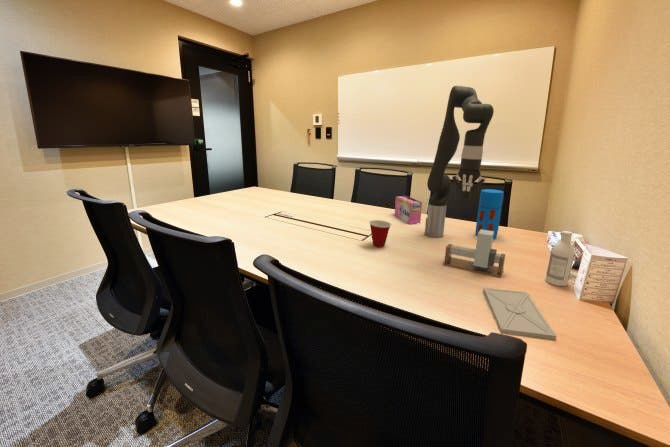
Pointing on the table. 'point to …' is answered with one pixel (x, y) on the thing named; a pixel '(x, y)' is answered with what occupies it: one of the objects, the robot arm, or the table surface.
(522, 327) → the envelope
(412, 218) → the pink cardboard box
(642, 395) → the table surface
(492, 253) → the gray brick
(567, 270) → the bath foam
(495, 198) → the blue tall rounded block
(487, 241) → the pale grey rectangular block
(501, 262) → the rail
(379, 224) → the plastic cup
